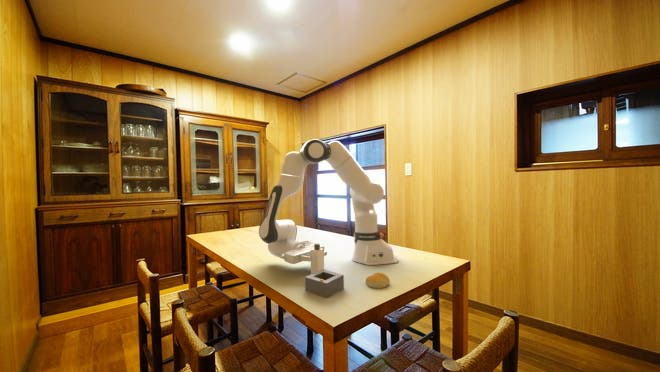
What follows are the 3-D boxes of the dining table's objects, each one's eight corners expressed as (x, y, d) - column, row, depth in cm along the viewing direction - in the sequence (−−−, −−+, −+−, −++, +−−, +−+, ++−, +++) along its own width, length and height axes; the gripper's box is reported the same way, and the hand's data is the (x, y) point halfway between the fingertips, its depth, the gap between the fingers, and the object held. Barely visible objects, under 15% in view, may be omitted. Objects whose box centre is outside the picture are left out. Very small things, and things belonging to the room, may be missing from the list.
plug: (317, 272, 114) (316, 242, 114) (324, 274, 112) (323, 244, 112) (310, 275, 111) (310, 244, 111) (317, 277, 109) (317, 246, 108)
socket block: (323, 282, 104) (322, 268, 103) (343, 288, 97) (343, 274, 97) (305, 290, 96) (305, 276, 96) (326, 298, 90) (326, 282, 89)
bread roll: (361, 285, 101) (361, 274, 101) (375, 278, 107) (375, 268, 107) (380, 291, 95) (379, 280, 95) (393, 284, 101) (393, 273, 101)
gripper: (277, 249, 111) (301, 254, 103) (310, 240, 127) (333, 244, 119) (278, 264, 111) (301, 270, 103) (310, 253, 127) (333, 258, 119)
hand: (318, 256), depth 111 cm, fingers open, 8 cm apart
